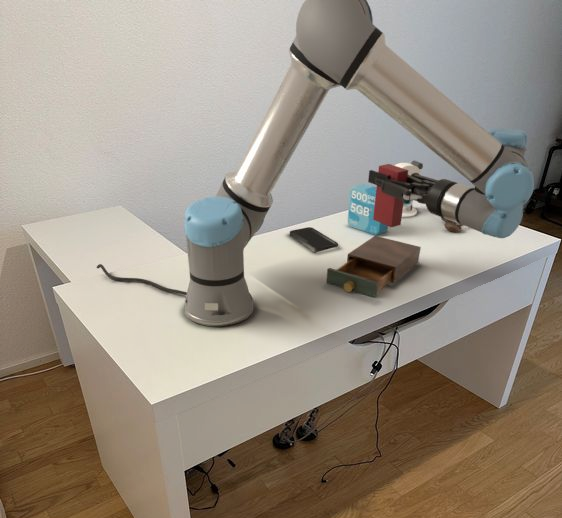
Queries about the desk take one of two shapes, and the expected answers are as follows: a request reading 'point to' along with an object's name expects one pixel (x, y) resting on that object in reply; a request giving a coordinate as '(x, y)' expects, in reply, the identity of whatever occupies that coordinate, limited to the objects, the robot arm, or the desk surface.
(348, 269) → the drawer
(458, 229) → the vintage travel clock
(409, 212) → the panda figurine
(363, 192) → the data package
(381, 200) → the card box
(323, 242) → the phone
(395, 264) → the box
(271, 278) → the desk surface
